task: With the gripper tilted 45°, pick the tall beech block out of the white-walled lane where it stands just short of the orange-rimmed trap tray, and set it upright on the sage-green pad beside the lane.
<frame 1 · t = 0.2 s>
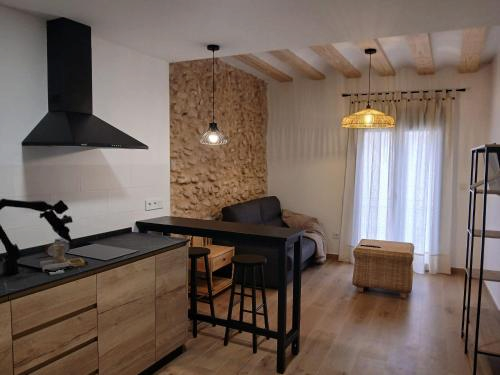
hand: (69, 240, 227), 15 cm above the counter, tool tilted 35°, fingers open, 9 cm apart
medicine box: (62, 251, 259), on the counter
trap tray: (75, 264, 230), on the counter
beech block: (59, 266, 224), on the counter
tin: (57, 255, 249), on the counter
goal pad: (56, 272, 214), on the counter
lane: (59, 266, 224), on the counter
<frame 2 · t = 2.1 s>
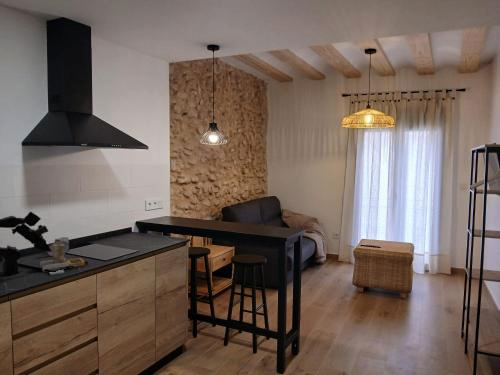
hand: (49, 249, 221), 11 cm above the counter, tool tilted 45°, fingers open, 9 cm apart
nothing on the counter moved.
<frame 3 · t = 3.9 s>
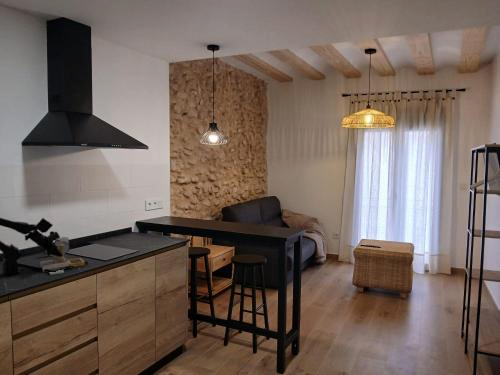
hand: (61, 255, 225), 7 cm above the counter, tool tilted 45°, fingers closed on beech block, 5 cm apart
beech block: (59, 266, 224), on the counter, touching gripper
everything else where it was.
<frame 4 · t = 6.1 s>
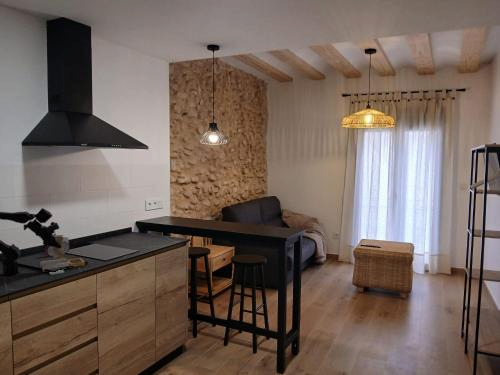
hand: (61, 246, 219), 13 cm above the counter, tool tilted 45°, fingers closed on beech block, 5 cm apart
beech block: (58, 258, 219), point 6 cm above the counter, touching gripper
everything else where it was.
when the fingers open (8 cm above the counter, at t = 8.5 s): beech block drops 1 cm, resting on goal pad.
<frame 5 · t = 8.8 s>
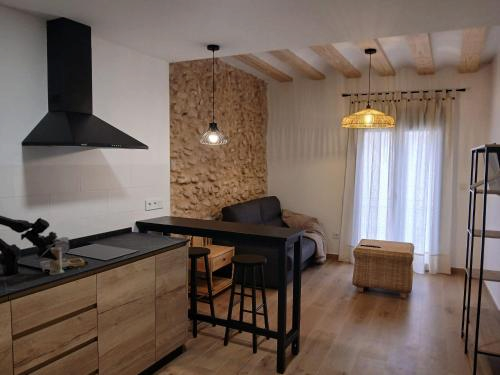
hand: (58, 257, 214), 8 cm above the counter, tool tilted 45°, fingers open, 8 cm apart
beech block: (56, 271, 214), point 1 cm above the counter, touching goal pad
everything else where it was.
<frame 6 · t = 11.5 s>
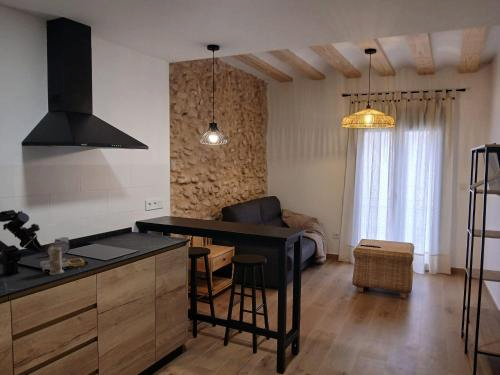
hand: (40, 249, 211), 13 cm above the counter, tool tilted 45°, fingers open, 9 cm apart
nothing on the counter moved.
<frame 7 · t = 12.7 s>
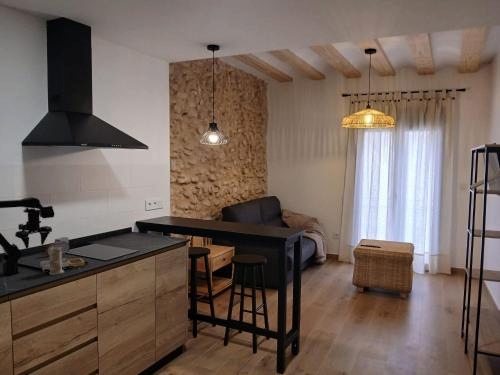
hand: (34, 246, 218), 13 cm above the counter, tool pointing down, fingers open, 9 cm apart
nothing on the counter moved.
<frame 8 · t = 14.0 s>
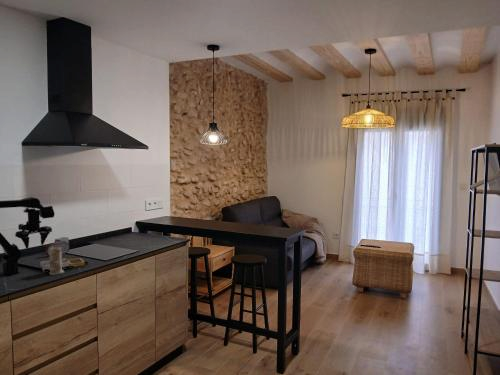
hand: (34, 246, 218), 13 cm above the counter, tool pointing down, fingers open, 9 cm apart
nothing on the counter moved.
at the end: beech block 0.1 cm off-centre on the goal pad, point 0.6 cm above the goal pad's base; beech block tilted 0°; beech block touching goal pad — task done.
